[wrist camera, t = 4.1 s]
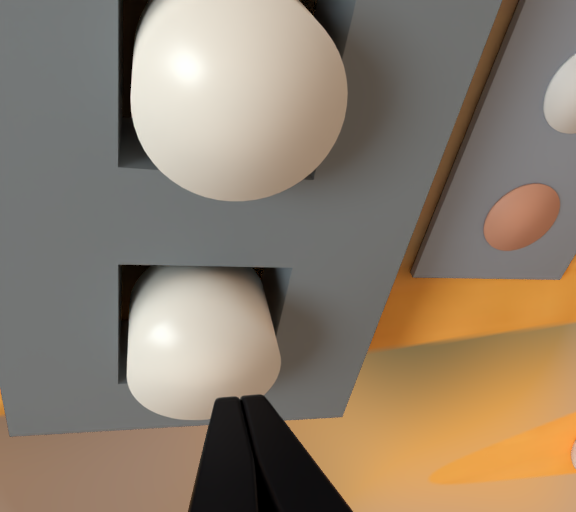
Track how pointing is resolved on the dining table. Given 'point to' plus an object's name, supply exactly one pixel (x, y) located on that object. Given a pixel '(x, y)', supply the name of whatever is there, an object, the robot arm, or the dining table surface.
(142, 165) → the button board
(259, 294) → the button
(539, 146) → the pattern card
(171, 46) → the button middle
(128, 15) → the dining table surface
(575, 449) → the grey stacked discs
